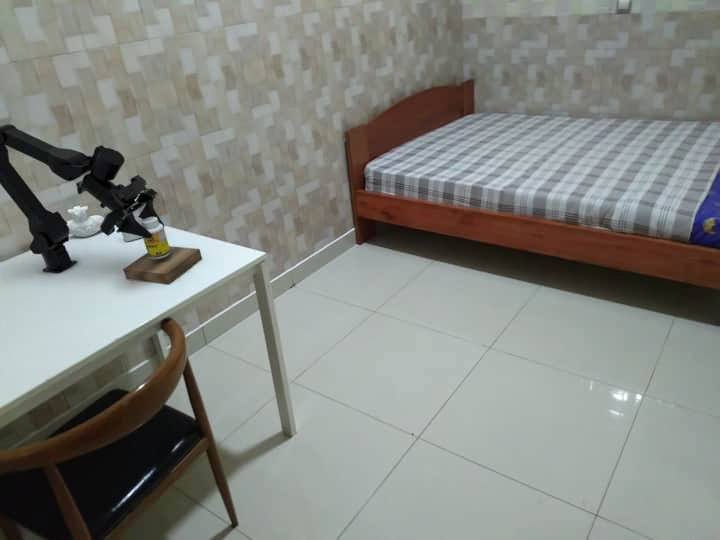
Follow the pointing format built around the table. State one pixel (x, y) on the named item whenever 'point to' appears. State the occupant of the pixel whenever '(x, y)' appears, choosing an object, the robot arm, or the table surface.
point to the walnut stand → (163, 266)
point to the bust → (84, 222)
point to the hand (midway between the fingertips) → (157, 232)
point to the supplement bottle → (155, 238)
